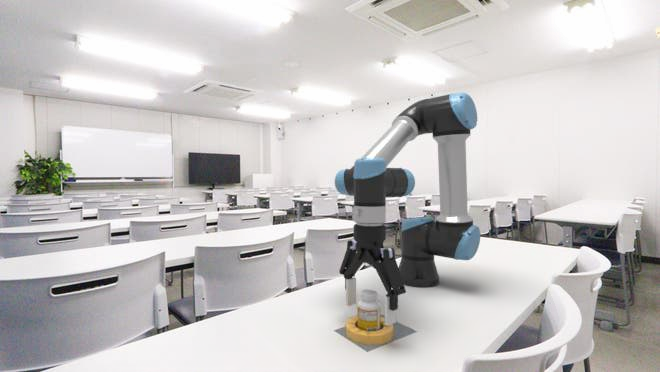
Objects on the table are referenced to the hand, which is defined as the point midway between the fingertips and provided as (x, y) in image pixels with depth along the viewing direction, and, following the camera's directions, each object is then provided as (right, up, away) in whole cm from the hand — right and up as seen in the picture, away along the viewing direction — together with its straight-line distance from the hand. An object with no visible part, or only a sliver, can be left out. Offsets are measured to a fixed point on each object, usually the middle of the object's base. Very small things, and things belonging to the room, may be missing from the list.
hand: (369, 313), depth 77 cm
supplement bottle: (0, -5, 0) cm, 5 cm away
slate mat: (+2, -5, +1) cm, 6 cm away
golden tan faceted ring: (0, -5, 0) cm, 5 cm away
